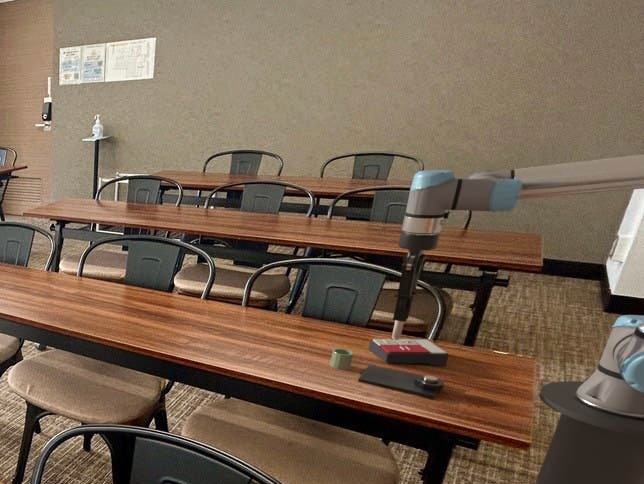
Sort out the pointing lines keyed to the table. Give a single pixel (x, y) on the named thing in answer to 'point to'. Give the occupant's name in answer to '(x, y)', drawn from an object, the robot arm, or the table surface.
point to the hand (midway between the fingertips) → (400, 319)
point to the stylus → (397, 330)
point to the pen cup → (341, 359)
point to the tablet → (400, 381)
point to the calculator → (408, 351)
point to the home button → (430, 379)
